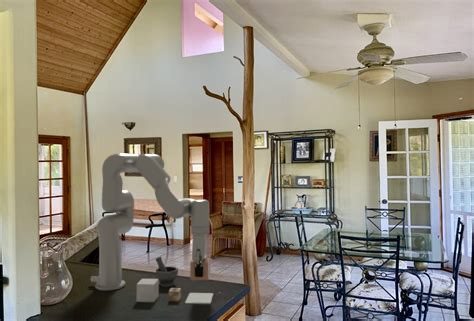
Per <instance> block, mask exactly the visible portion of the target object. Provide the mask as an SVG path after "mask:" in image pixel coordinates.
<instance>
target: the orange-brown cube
mask: <svg viewBox="0 0 474 321" xmlns="http://www.w3.org/2000/svg"><path fill="white" fill-rule="evenodd" d="M195 259H196V257H195ZM195 259H194V260H193V259H192V258H191V260H190V264H189V266H190V272H189V274H190V276H189V278H190V281H209V279H210V276H211V258H210V257H205V258H204V259H203V262H202V267H203V277H195ZM200 259H201V258H200ZM200 262H201V261H200Z"/></svg>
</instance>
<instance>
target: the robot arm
mask: <svg viewBox="0 0 474 321" xmlns="http://www.w3.org/2000/svg"><path fill="white" fill-rule="evenodd" d="M101 167H102V168H101V170H102V172H101V173H102V186H101V188H102V190H101V191H102V192H101V206H102V207H101V208H102V210H103V211H105V212H106V213H114V214H109V215H105V216H104V217H102V218H100V220H98V222H97V226H96V229H97V230H96V231H97V235H98V244H99V248H98V250H99V258H98V260H99V261H98V262H99V264H98V265H99V266H98V268H99V269H98V271H99V272H98V274H99V275H98V276H90V282H91V283H95V289H96V290H97V291H105V292H107V291H115V290H119V289H122V288H124V287H125V286H126V281H125V280H123V279H122V275H123V274H122V271H123V268H122V266H123V264H122V263H123V261H122V260H123V258H122V257H123V250H122V249H123V245H122V241H121V239H120V238H121V237H120V235H123V234H126V233H128V232H130V231H131V230H132V228H133V225H134V217H135V216H134V215H135V212H134V211H135V198H134V196H133V194H132V193H131V192H130V191H129V190H126V189H123V178H122V176H121V174H122V173H140V175H141V176H142V177H143V178H144V180H146V181H147V183H148V185H149V186H151V187H152V189H153V191H154V195H155V198H156V201H157V203H158V205H159V206H160V207H161V209H162V210H163V211H164V213H166V214H167V216H169V217H170V218H172V219H176V220H177V219H178V220H179V219H182V218H186V217H190V234H191V235H192V244H191V245H192V246H191V260H192V259H193V260H194V259H195V258H196V259H195V277H203V267H202V262H203V259H204V258H206V256H207V253H208V252H207V251H208V249H207V248H208V245H207V244H208V241H207V240H208V239H207V237H208V235H209V234H210V202H209V200H207V199H203V198H201V199H194V198H188V197H187V198H179V199H178V198H177V197H176V196H175V195H174V194H173V193H172V191H171V190H170V187H169V184H170V182H171V177H170V175H169V173H168V172H167V171H166V170H165V169H164V168H165V161H164V159H163V158H162V156H160V155H159V154H155V153H153V154H152V153H151V154H150V153H144V154H143V153H121V152H120V153H119V152H118V153H114V154H110V155H109V156H108V157H106V159H105V160H104V162H103V163H102V166H101ZM200 258H201V259H200ZM200 261H201V262H200Z"/></svg>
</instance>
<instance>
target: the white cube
mask: <svg viewBox="0 0 474 321" xmlns="http://www.w3.org/2000/svg"><path fill="white" fill-rule="evenodd" d="M159 285H160V281H159V279H158V278H141V279H140V280H139V281H138V282H137V283H136V302H138V303H155V302H156V300H157V299H158V297H159V295H160V293H159V291H160V290H159V288H160V286H159Z"/></svg>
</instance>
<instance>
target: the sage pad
mask: <svg viewBox="0 0 474 321" xmlns="http://www.w3.org/2000/svg"><path fill="white" fill-rule="evenodd" d="M213 297H214V293H212V292H189V294H188V296H187V298H186V300H185V303H184V304H185V305H187V304H189V305H211V303H212V300H213Z"/></svg>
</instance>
